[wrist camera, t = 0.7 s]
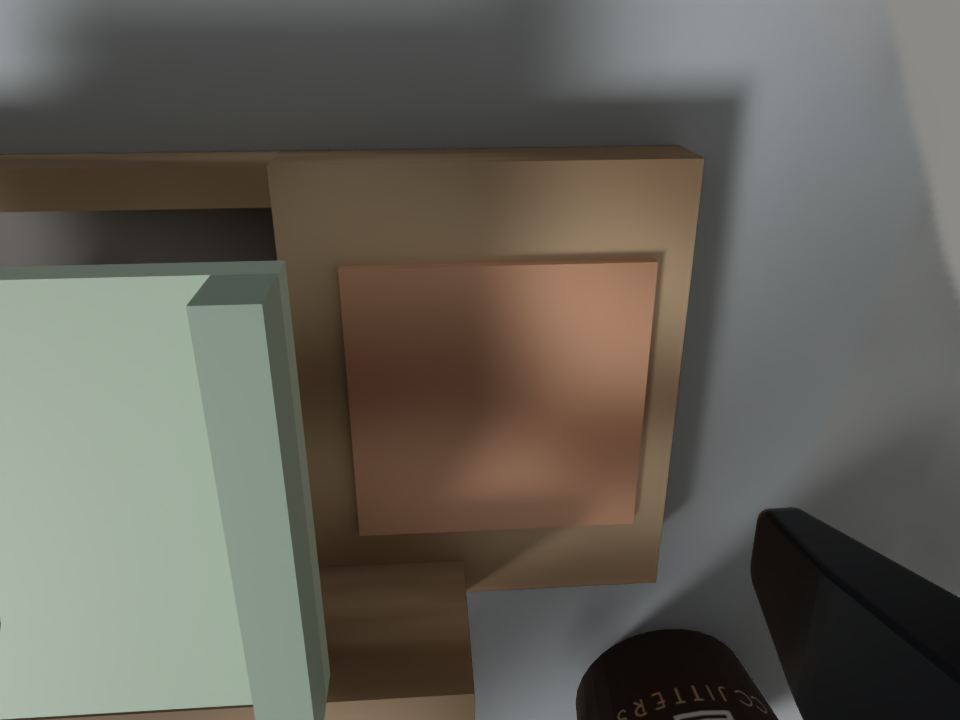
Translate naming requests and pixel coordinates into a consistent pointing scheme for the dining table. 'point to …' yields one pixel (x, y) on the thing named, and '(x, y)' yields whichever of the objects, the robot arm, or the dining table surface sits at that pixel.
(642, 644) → the coffee mug
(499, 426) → the puzzle board
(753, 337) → the dining table surface
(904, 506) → the dining table surface
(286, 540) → the sage cover
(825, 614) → the robot arm
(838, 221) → the dining table surface
